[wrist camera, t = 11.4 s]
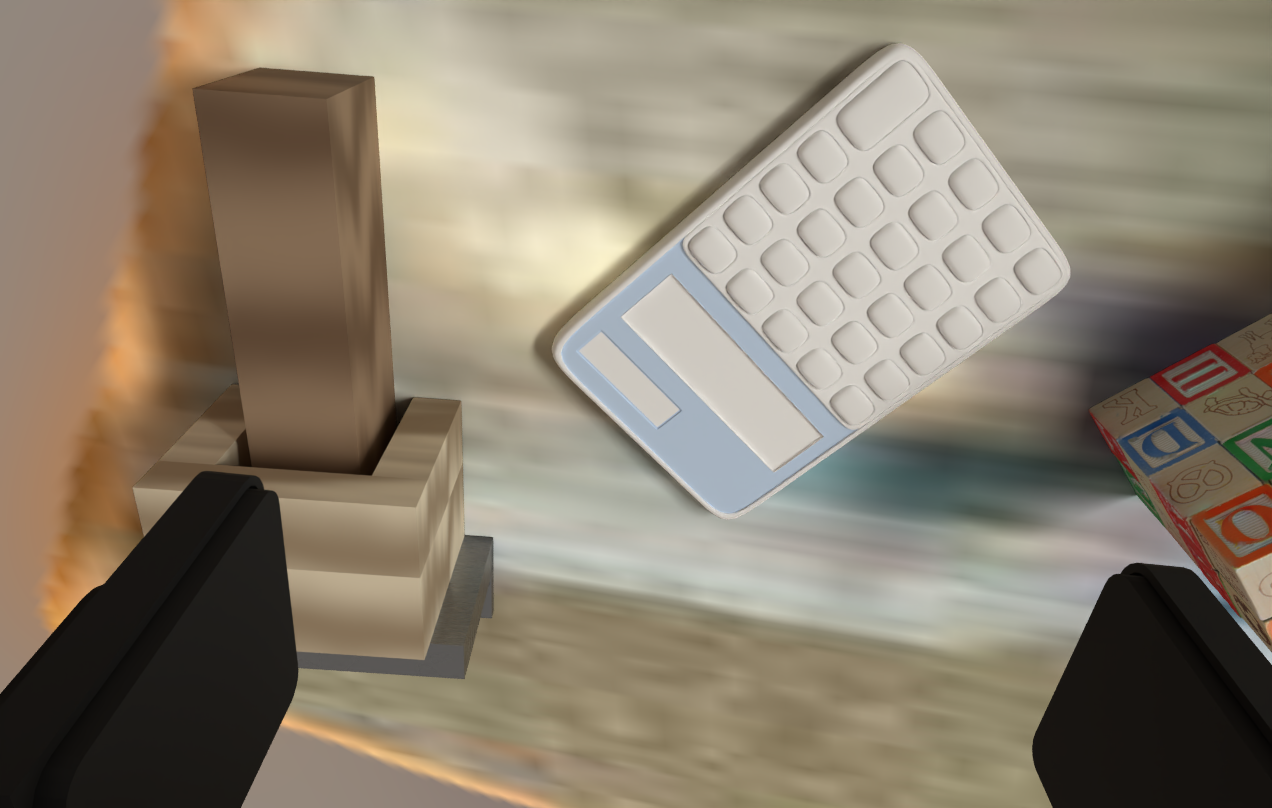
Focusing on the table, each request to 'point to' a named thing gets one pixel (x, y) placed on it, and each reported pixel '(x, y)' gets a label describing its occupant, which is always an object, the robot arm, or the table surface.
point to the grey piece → (453, 628)
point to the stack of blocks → (1207, 462)
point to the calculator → (815, 289)
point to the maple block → (346, 526)
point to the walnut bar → (303, 264)
